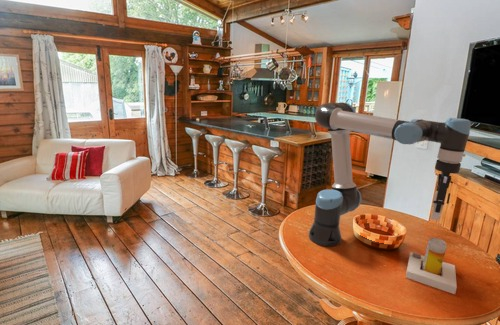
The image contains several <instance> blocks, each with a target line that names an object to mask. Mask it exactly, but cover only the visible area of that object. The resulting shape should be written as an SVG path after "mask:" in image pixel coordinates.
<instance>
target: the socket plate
mask: <svg viewBox="0 0 500 325" xmlns="http://www.w3.org/2000/svg"><path fill="white" fill-rule="evenodd" d="M424 257H425V255H422V254H419V253H415V252H412V251H411V252H409V257H408V261H407V262H408V263H407V267H406V273H405V274H406V275H405V278H407V279H409V280H411V281H414V282H417V283H421V284H423V285H426V286H428V287H433V288H435V289H438V290H440V291H444V292H447V293H450V294H452V295H456V292H457V288H458V286H457V276H456V265H455V264H452V263H448V262H445V261H443V263H442V267H441V271H440V275H436V274H433V273H430V272H427V271H423V270H422V269H421V268H422V266H423V261H424Z"/></svg>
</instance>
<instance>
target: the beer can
mask: <svg viewBox="0 0 500 325" xmlns="http://www.w3.org/2000/svg"><path fill="white" fill-rule="evenodd" d="M447 248H448V247H447V242H446V241H445V240H443V239H442V238H438V237H431V238H429V240H428V241H427V246H426V250H425V253H424V256H425V257H424V261H423V266H422V267H421V270H423V271H427V272H430V273H433V274H436V275H439V276H441V273H440V271H441V267H442V263H443V262H444V258H445V254H446V251H447Z"/></svg>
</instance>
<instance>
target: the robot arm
mask: <svg viewBox="0 0 500 325" xmlns="http://www.w3.org/2000/svg"><path fill="white" fill-rule="evenodd" d="M314 119H315V122H316V123H317V125H319V127H322V128H323V129H327V133H328V134H329V135H330V137H331V151H332V152H331V153H332V164H333V165H332V166H333V178H334V183H333V184H332V185H331V189H330V188H329V189H323V190H320V191H318V193H317V195H316V199H315V206H314V207H315V209H314V218H313V223H312V225H311V227H310V229H309V232H308V238H309V240H310V241H312V242H313V243H314V244H316V245H319V246H322V247H335V246H338V245H339V244H341V242H342V234H341V230H340V220H341V216H343V215H346V214H348V213H350V212H351V213H352V212H354V211H355V210H356V209H357V208H359V207H360V205H361V203H362V199H363V198H362V194H361V191H359V188H357V184H356V183H355V182H354V181H353V168H352V167H353V166H352V153H351V151H352V150H351V139H350V137H351V136H350V133H351V132H356V133H359V134H365V135H370V136H375V137H379V138H384V139H389V140H394V141H397V142H398V143H399V144H402V145H414V144H416V143H420V142H424V141H426V142H434V143H437V144H438V143H440V146H439V149H438V153H437V160H436V162H435V165H434V166H435V167H434V169H435V170H436V171H438V172H440V173H438V177H437V186H436V189H435V194H434V198H433V201H432V213H431V216H430V219H431V220H434V221H438V222H440V220H441V216H442V212H443V208H444V205H445V204H446V203H445V200H446V198H447V191H448V189H449V187H450V183H451V181H452V176H451V174H453V175H454V174H459V172H460V171H461V169H460V168H461V166H462V165H461V162H462V160H463V157H466V153H465V149H466V145H467V142H468V139H469V136H470V131H471V126H472V121H471V120H469V119H465V118H459V117H458V118H456V117H448V118H447V119H446V120H445V122H439V121H433V120H425V119H423V118H421V119H415V118H414V119H411V120H410V121H408V120H402V119H401V120H400V119H396V118H395V119H394V118H389V117H388V118H387V117H383V116H377V115H372V114H365V113H359V112H356V109H355V107H353V106H352V105H351V104H350V103H347V102H341V101H340V102H326V103H322V104H321V105H319V106H318V107H317V109H316V110H315V114H314Z"/></svg>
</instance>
